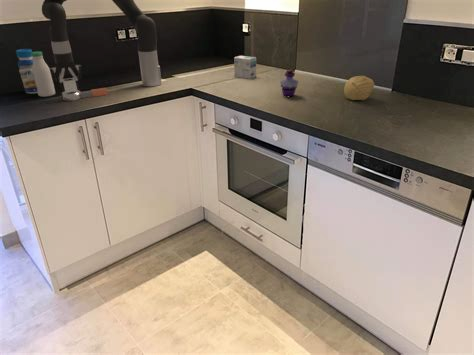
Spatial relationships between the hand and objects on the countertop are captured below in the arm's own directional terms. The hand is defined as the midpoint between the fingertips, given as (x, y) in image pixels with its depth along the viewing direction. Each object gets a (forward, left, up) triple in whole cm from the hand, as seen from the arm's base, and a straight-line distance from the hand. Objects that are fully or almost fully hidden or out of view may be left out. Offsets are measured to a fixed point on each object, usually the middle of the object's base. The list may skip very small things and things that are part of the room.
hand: (70, 89), depth 177 cm
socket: (0, 0, -1) cm, 1 cm away
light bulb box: (-91, +4, -5) cm, 91 cm away
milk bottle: (+10, -13, -5) cm, 17 cm away
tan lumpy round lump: (-115, +66, -5) cm, 133 cm away
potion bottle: (-91, +46, -5) cm, 102 cm away
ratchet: (-6, 0, -4) cm, 7 cm away
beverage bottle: (+15, -22, -5) cm, 27 cm away
